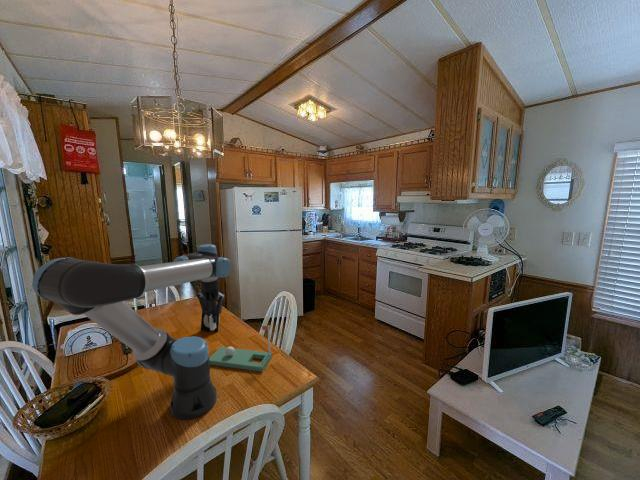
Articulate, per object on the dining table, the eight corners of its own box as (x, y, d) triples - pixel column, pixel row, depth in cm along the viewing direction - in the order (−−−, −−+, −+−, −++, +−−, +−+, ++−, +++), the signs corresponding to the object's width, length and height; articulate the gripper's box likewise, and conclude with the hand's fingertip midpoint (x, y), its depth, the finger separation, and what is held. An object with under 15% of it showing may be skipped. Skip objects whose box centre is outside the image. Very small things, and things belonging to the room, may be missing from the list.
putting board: (262, 371, 116) (261, 336, 113) (207, 364, 121) (205, 330, 118) (272, 356, 126) (271, 324, 124) (221, 350, 131) (219, 319, 129)
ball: (232, 358, 122) (231, 350, 121) (223, 357, 123) (223, 349, 122) (236, 353, 126) (236, 345, 125) (228, 352, 127) (228, 344, 126)
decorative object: (207, 328, 158) (223, 329, 157) (197, 332, 147) (215, 333, 146) (209, 305, 159) (225, 306, 158) (199, 308, 149) (217, 308, 148)
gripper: (227, 277, 122) (230, 326, 126) (201, 275, 125) (205, 323, 129) (218, 283, 115) (221, 334, 119) (190, 281, 118) (195, 331, 122)
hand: (213, 328), depth 124 cm, fingers closed
